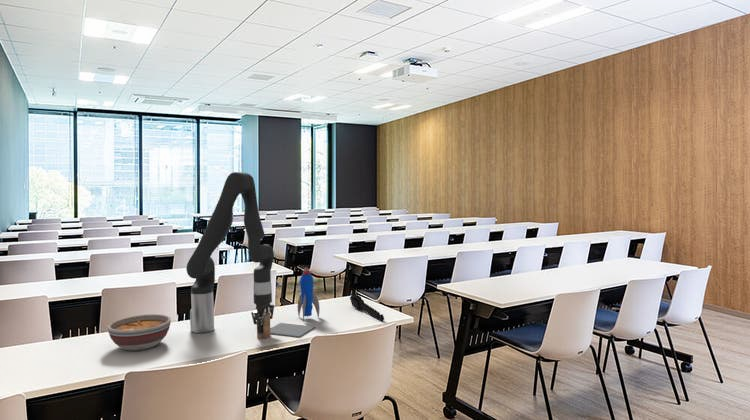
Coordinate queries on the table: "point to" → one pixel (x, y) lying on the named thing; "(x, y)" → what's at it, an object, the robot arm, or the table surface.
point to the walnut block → (265, 327)
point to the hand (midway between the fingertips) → (263, 331)
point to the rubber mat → (290, 330)
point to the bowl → (139, 331)
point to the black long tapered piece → (365, 306)
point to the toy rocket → (307, 295)
